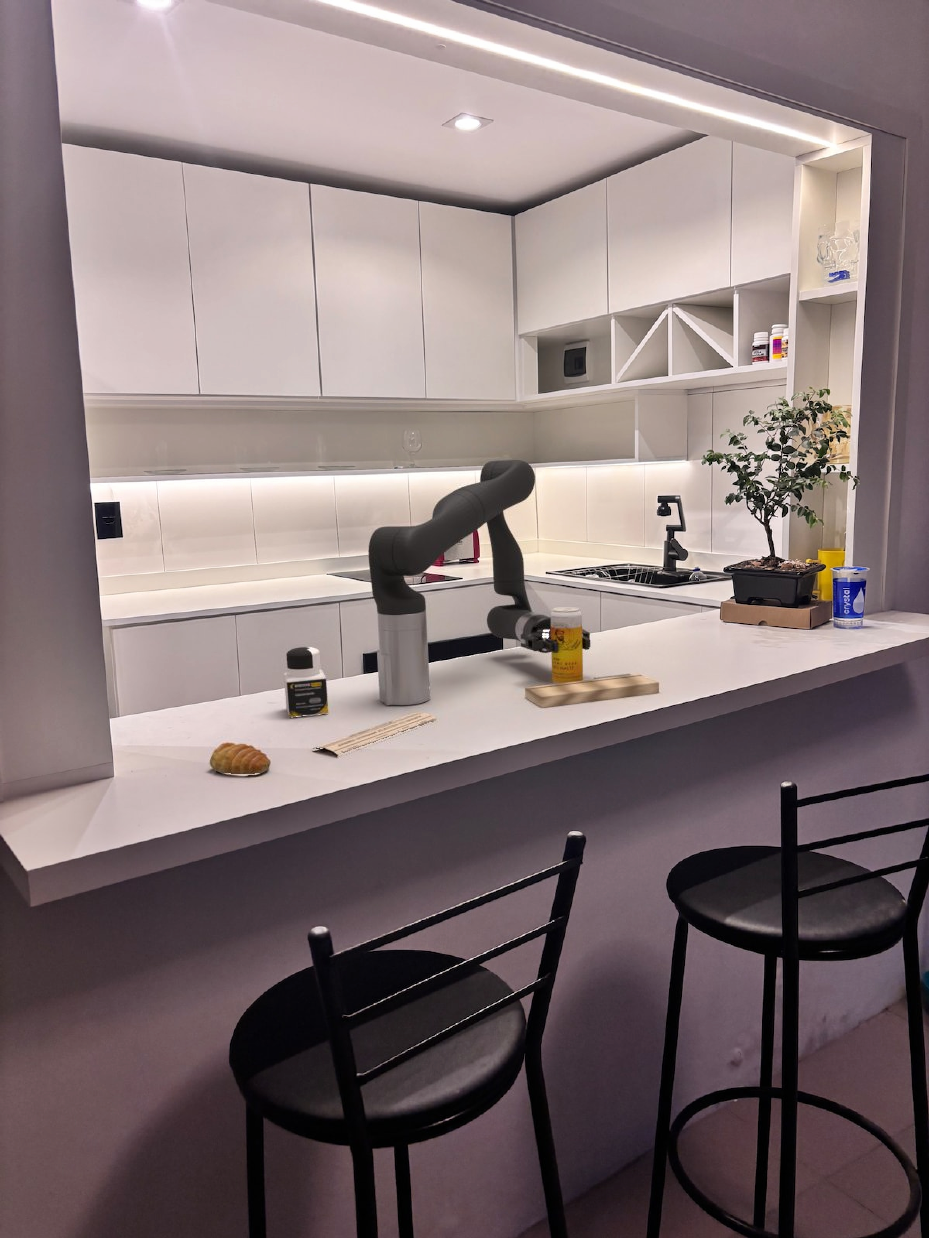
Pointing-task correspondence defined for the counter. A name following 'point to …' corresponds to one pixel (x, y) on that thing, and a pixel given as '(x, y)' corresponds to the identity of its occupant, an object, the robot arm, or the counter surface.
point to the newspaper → (378, 732)
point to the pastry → (239, 759)
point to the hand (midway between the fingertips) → (572, 646)
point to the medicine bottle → (305, 683)
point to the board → (591, 690)
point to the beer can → (567, 645)
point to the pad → (612, 676)
